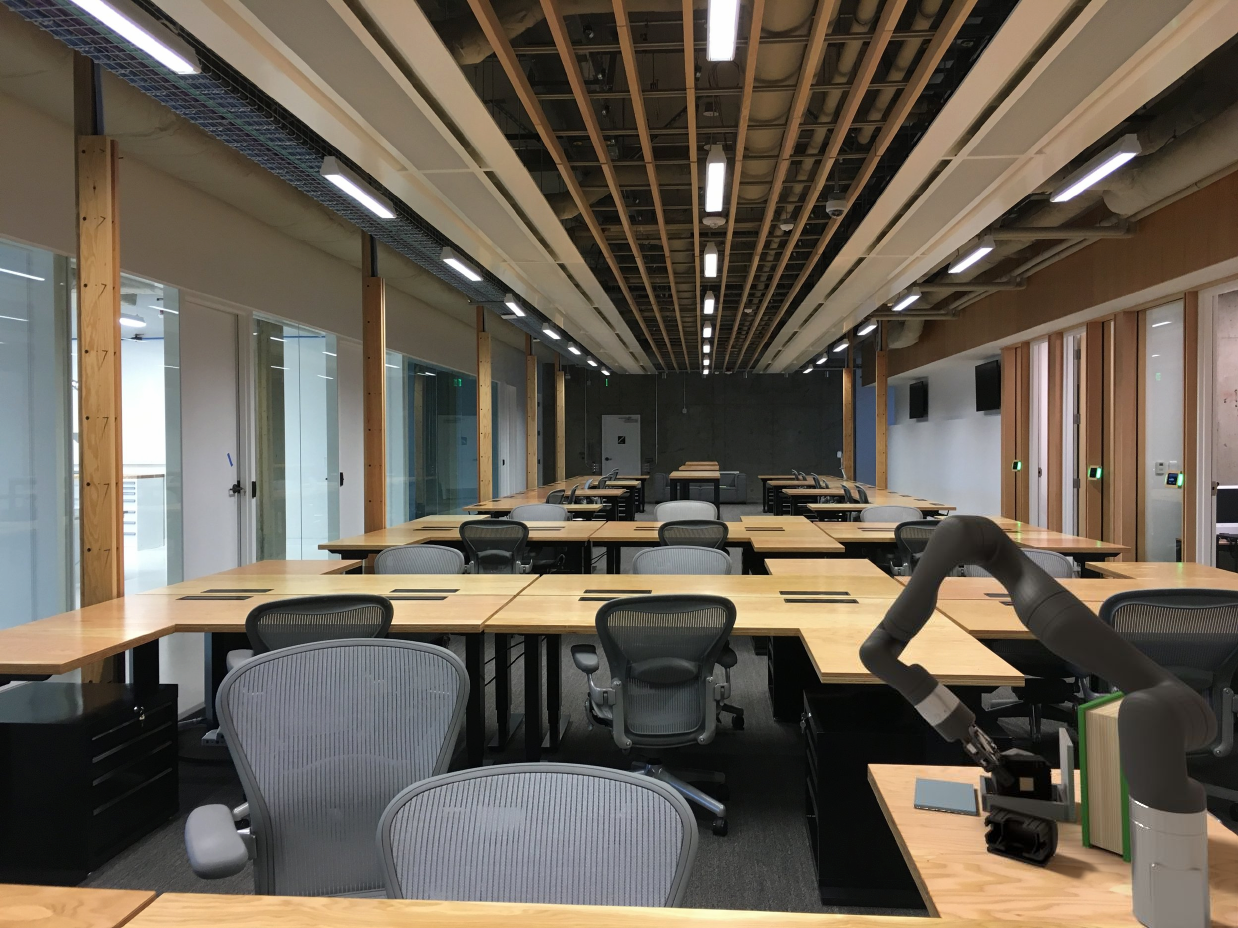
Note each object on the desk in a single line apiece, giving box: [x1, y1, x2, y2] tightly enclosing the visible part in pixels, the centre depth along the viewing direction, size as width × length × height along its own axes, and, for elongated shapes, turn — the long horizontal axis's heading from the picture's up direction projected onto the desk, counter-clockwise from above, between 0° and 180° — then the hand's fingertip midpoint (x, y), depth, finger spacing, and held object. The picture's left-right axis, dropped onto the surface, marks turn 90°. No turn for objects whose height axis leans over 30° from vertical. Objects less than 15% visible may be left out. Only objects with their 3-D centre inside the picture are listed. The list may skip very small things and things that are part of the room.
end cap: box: [983, 804, 1059, 869], centre depth 136 cm, size 10×7×7 cm
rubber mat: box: [913, 777, 977, 816], centre depth 159 cm, size 14×11×1 cm
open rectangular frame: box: [979, 727, 1077, 823], centre depth 154 cm, size 11×16×14 cm
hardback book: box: [1077, 690, 1131, 864], centre depth 139 cm, size 18×7×24 cm, turn 124°
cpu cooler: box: [990, 747, 1053, 802], centre depth 154 cm, size 10×6×10 cm, turn 82°
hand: (1009, 775), depth 155 cm, fingers open, 8 cm apart
